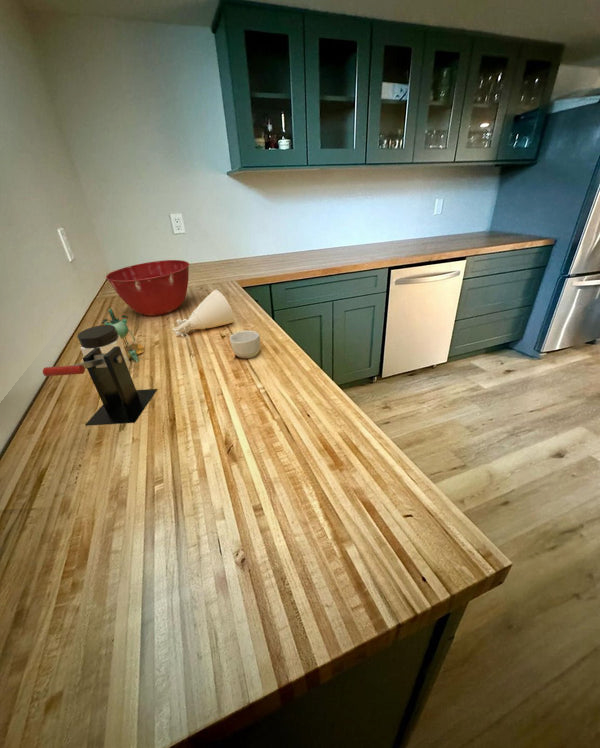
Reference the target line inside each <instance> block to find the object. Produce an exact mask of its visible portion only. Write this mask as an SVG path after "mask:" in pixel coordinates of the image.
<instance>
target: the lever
mask: <svg viewBox="0 0 600 748" xmlns="http://www.w3.org/2000/svg"><path fill="white" fill-rule="evenodd" d="M106 354H107V353H104V354H99V355H94V360H91V361H87V362H84V361H83V362H79V363H75V364H71V365H61V366H46V367H43V369H42V374H43V375H44V376H45V377H57V376H58V377H59V376H71V375H83V374H85V371H86V369H87V368H90V367H94V366H96V368H103V367H107V365H106V362H105V360H104V356H105V355H106Z"/></svg>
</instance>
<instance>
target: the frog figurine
mask: <svg viewBox="0 0 600 748" xmlns="http://www.w3.org/2000/svg"><path fill="white" fill-rule="evenodd" d="M108 313H109V316H110V317H111V319H110V320H109V319H108V318H105V319H103V320H102V325H112V326H114V327H115V328H116V330H117V333H118V335H120V337H121V340H122V341H123V342H124V345H125V346H124V348H125V351H126V353H127V356H128V359H129V360H133V362H136V363H138V362H139V357H138V355H140V354H142V353H144V352H145V345H144V344H141V343H140V342H139V343H131V344H129V342H128V340H127V335H128V334H129V333H130V335H131V337H132V339H133V341H134V342H136V338H135V337H134V335H133V333H132V332H131V330H130V329H129V327H128V325H127V323H128V319H129V317H128V316H127V315H124V314H123V315H121V316H120V317H121V318H122V319H121V320H120V318H119V317H117V318H116V315H115V313H114V311H113V309H112V308H109V309H108Z"/></svg>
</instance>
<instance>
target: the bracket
mask: <svg viewBox="0 0 600 748" xmlns="http://www.w3.org/2000/svg"><path fill="white" fill-rule="evenodd" d="M99 354H102V352H101V350H100V348H94V349H93V350H92V351H90V352H89V353H88V354H87V355H86V356H84V355H83V357H82V361H83V362H87V361H91V360H94V355H99ZM104 360H105V362H106V365H107V367H103V368H96V366H94V367H90V368H86V369H87V372H88V374H89V376H90V378H91V380H92V383H93V386H94V388H95V390H96V392H97V394H98V397H99V398H100V400H101V403H102V405H101V406H100V407H99V408H98V409H97V410H96V412H95V413H94V414H93V415H92V416H91V417H90V418H89V420H88V421H87V422H86V423H85V425H84V426H86V427H88V426H89V427H90V426H102V425H104V426H105V425H106V426H107V425H119V424H121V425H122V424H136V422H137V421H138V419H139V418H140V417H141V415H142V413H143V412H144V410H145V409H146V408H147V406H148V404H149V403H150V401H151V400H152V399H153V397H154V396H155V394H156V393H157V392H158V388H150V389H148V388H147V389H136V386H135V383H134V381H133V379H132V376H131V372H130V371H129V370H130V369H129V370H128V367H127V365H126V362H125V360H124V357H123V354H122V352H121V349H120V347H119V346H116V347H114V348H112V349H111V350H110V351H109V352H108V353H107V354H106V355H105V356H104Z"/></svg>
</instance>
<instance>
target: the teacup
mask: <svg viewBox="0 0 600 748" xmlns="http://www.w3.org/2000/svg"><path fill="white" fill-rule="evenodd" d="M260 337H261V336H260V334H259V332H257V331H255V330H253V329H252V330H250V329H248V330H246V329H245V330H239V331H236V332H234V333H232V334H231V335H230V336H229V345H230V348H231V350H232V353H233V354H234V355H235V356H237V358H239V359H240V358H241V359H251V358H253V357H255V356H256V355H257V354H258V353H259V351H260V349H261V338H260Z"/></svg>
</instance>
